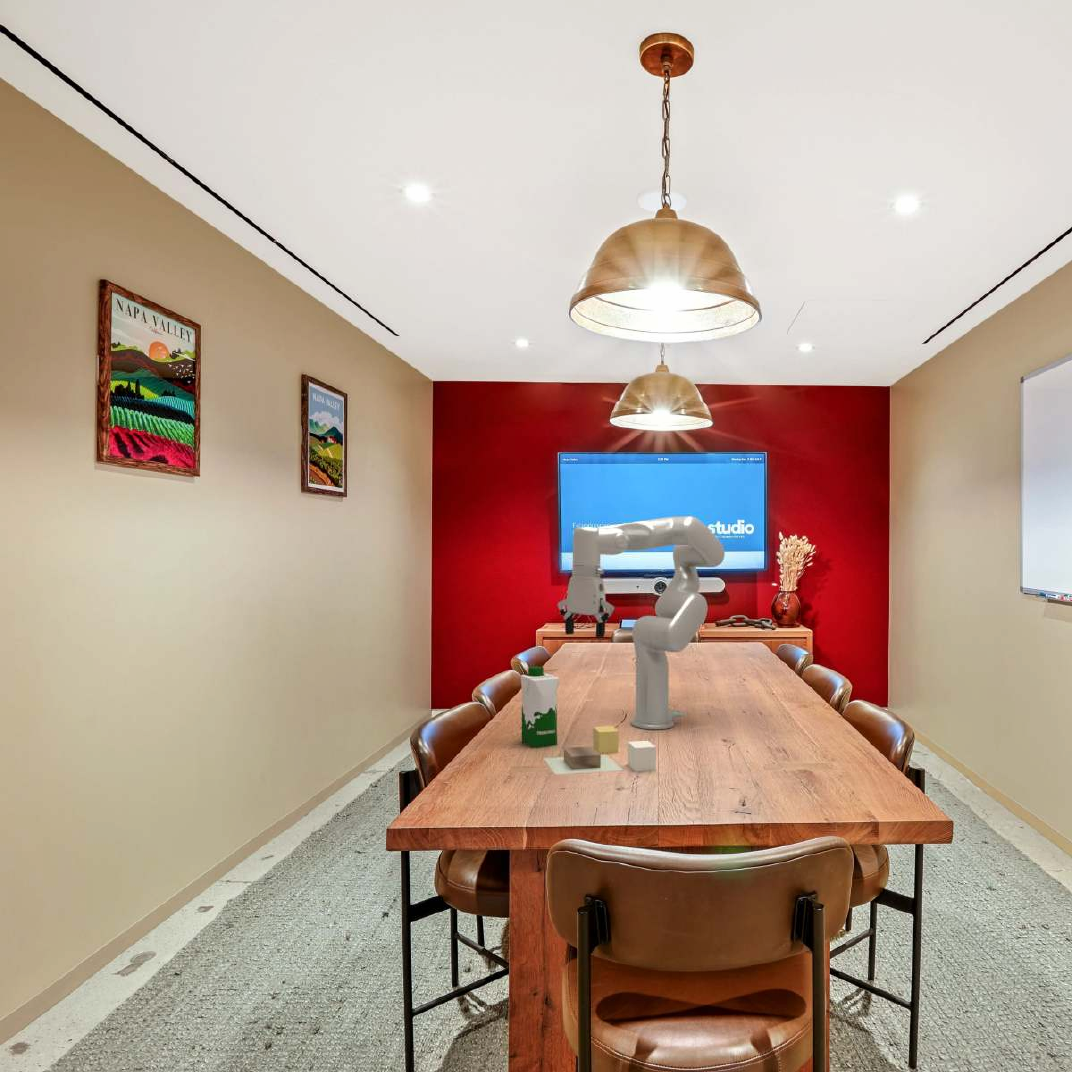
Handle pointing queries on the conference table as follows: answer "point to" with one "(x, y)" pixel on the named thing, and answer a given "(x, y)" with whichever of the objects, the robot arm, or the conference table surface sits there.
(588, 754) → the walnut base brick
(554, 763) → the plate
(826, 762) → the conference table surface
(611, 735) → the mustard brick
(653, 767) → the cream brick
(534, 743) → the milk carton
